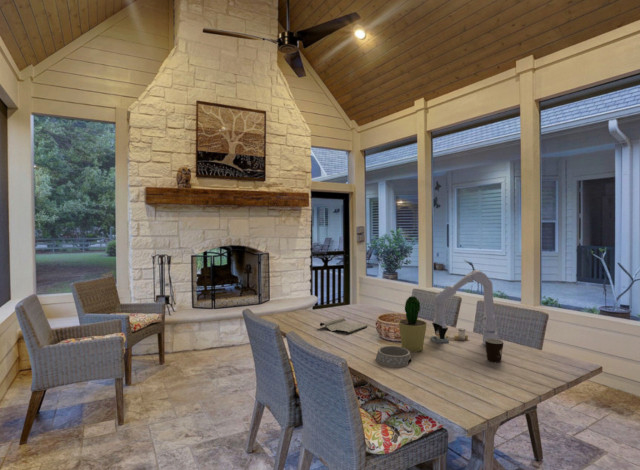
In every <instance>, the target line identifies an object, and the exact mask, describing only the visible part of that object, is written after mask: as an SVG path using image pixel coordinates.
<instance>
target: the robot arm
mask: <svg viewBox="0 0 640 470" xmlns="http://www.w3.org/2000/svg"><path fill="white" fill-rule="evenodd" d="M475 282H476V283H478V284H480V285H482V287H483V308H484V309H483V310H484V314H483V319H482V325H483V328H482V344H483V345H484V346H486V343H485V339H498V340H501V339H500V335H499V334H498V333H497V328H498V323H497V322H496V317H495V311H494V310H495V309H494V291H493V287H494V286H493V282H492V281H491V280H490V278H489V277H488V276H487V274H486V273H484V272H482V271H481V270H479V269H473V270H472V271H469V272H468V273H467V274H466V275H464V276H463V277H462V278H460V279H459V280H458V281H457V282H455V284H453V285H447V286H445V288H444V289H443V290H442V291H439V293H436V294H435V296H434V301H435V304H434V305H435V306H434V318H433V320H432V322H431V324H432V327H433V330H434V333H435V335H434V336H436V331H437V330H439V335H440V339H443V340H444V337H445V335H447V331H448V330H449V328H448V327H447V324H446V307H445V306H446V304H445V303H446V302H447V300H448V301H449V299H451V298H452V297H453V296H455V295H456V294H457V291H458V290H460V288H462V287H463V286H465V285H467V283H468V284H469V283H475Z"/></svg>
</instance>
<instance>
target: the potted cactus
mask: <svg viewBox="0 0 640 470" xmlns="http://www.w3.org/2000/svg"><path fill="white" fill-rule="evenodd" d="M404 300H405V303H404V306H403V307H404V313H405V318H406V319H400V320H398V326H399V327H398V328H399V332H400V333H399V336H400V341H401V347H402V348H405V349H407V350H409V352H413V353H414V352H421V351H423V349H424V344H425V338H426V331H427V330H426V329H427V324H428V323H427V322H426V321H424V320H422V319H419V313H421V301H419V299H418V298H417V296H408V297H407V299H404Z"/></svg>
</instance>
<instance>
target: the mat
mask: <svg viewBox="0 0 640 470" xmlns="http://www.w3.org/2000/svg"><path fill="white" fill-rule="evenodd" d="M319 326H320V327H324V326H325V328H326V329H328V330H329V331H331V332H336V331H340V332H347V333H348V334H351V333H353V332H356V331H360V330H361V329H365V328H367V327H369V326H368V325H367V324H365V323H358V322H357V323H350V322H349V321H347V320H346V319H345V317H343V316H342V317H340V316H339V317H337V318H333V319H330V320H325V321H324V322H320V323H319Z"/></svg>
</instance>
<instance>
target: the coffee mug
mask: <svg viewBox="0 0 640 470" xmlns="http://www.w3.org/2000/svg"><path fill="white" fill-rule="evenodd" d="M485 343H486V345H485V351H486V353H485V354H486V360H487V361H488V362H490V363H495V362H496V363H498V362H499V363H501V362H502V355H503V349H504V343H505V342H504V340H502V339H499V340H498V339H485Z"/></svg>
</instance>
